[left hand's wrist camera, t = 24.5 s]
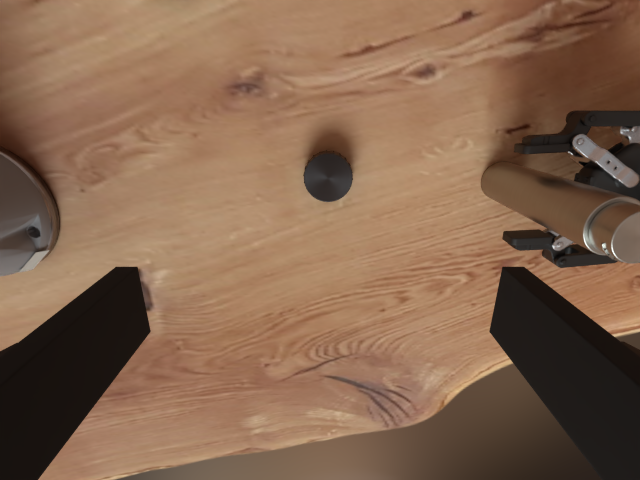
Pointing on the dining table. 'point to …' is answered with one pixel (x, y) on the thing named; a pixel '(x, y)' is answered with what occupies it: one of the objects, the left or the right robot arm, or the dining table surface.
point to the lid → (328, 176)
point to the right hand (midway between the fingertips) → (512, 195)
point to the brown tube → (569, 209)
